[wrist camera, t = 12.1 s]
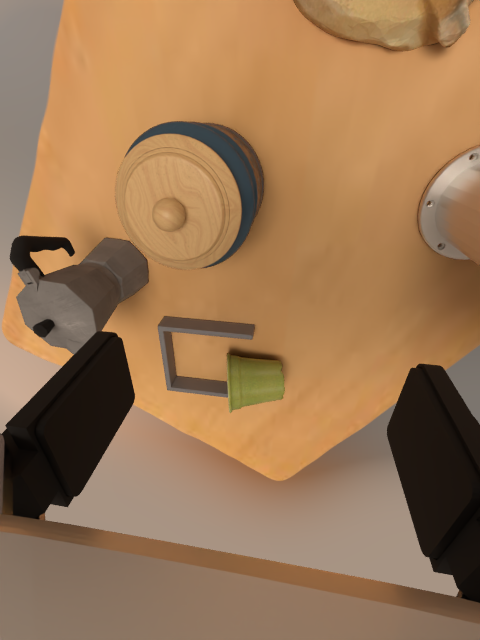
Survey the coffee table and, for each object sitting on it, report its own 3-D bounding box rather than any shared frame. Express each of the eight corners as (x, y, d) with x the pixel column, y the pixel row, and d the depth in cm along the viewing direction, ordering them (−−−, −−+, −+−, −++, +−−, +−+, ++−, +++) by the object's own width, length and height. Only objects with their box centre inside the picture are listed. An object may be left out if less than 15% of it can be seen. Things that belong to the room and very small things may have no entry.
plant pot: (288, 419, 45) (228, 421, 45) (278, 400, 55) (229, 402, 55) (286, 355, 45) (226, 357, 45) (276, 347, 54) (227, 349, 54)
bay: (254, 324, 49) (252, 335, 46) (251, 388, 56) (249, 400, 53) (164, 316, 51) (157, 326, 48) (172, 378, 58) (167, 390, 55)
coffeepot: (165, 298, 49) (108, 375, 34) (115, 309, 51) (41, 385, 36) (120, 198, 42) (20, 238, 26) (64, 217, 44) (-56, 263, 29)
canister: (260, 240, 42) (241, 301, 27) (167, 231, 43) (100, 286, 28) (269, 125, 35) (250, 124, 20) (158, 120, 36) (63, 114, 21)
